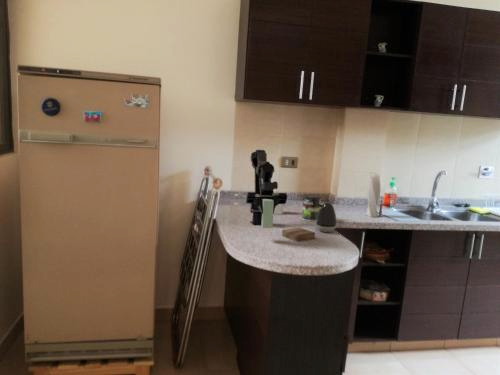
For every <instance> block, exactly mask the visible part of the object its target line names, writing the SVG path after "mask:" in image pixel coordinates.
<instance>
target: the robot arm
mask: <svg viewBox="0 0 500 375" xmlns="http://www.w3.org/2000/svg"><path fill="white" fill-rule="evenodd" d="M267 155H268V154H267V152H266V150H264V149H256V150H255V151H254V152H253V151H252V153H251V154H250V163H251V166H252V168H253V170H254V191H248V192H247V193H246V197H245V203H246V204H250V206H249V212H250V214H252V219H251V220H252V221H249V222H250V223H251V224H252V225H254V226H255V225H260V226H261V222H262V214H263V206H262V199H272V200H273V201H274V207H273V215H275V214H274V210H275V207H276V205H279V204H283V205H286V204H287V201H288V193H287V192H278V196H274V195H272V194H273V193H275V192H274V190H277V189H278V186H279V185H278V181H273V182H272V178H273V174H274V173H275V167H274V165H273V164H272V163H270V161H268V160H267V158H268V157H267Z"/></svg>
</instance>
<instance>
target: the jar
mask: <svg viewBox="0 0 500 375" xmlns="http://www.w3.org/2000/svg"><path fill="white" fill-rule="evenodd" d="M278 193H279V192H278ZM278 193H277V192H274V193H273V194H272V195H274V196H278ZM283 213H284V204H279V205H276V207H275V210H274V214H273V215H282V214H283Z"/></svg>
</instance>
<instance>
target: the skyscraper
mask: <svg viewBox="0 0 500 375" xmlns="http://www.w3.org/2000/svg"><path fill="white" fill-rule="evenodd" d="M369 176H370V178H369V179H370V180H369V182H368V187H367V202H368V207H367V210H366V214H365V216H366V217H369V218H374V219H377V218H382V213H383V210H382V209H383V204H382V203H383V198H382V197H381V199H380V196H381V180H380V179H381V175H380V174H377V173H376V172H373V174H372V173H369ZM379 200H380V204H379V211H378V203H379Z"/></svg>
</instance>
